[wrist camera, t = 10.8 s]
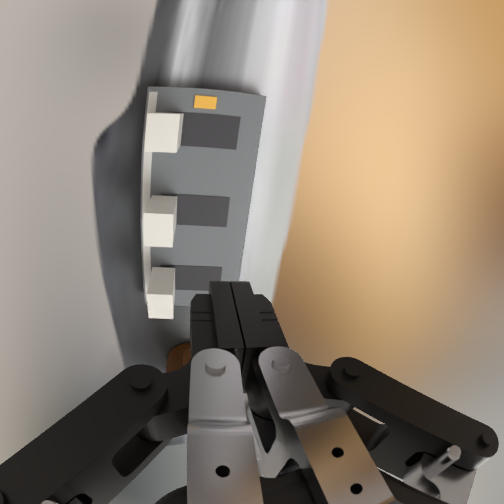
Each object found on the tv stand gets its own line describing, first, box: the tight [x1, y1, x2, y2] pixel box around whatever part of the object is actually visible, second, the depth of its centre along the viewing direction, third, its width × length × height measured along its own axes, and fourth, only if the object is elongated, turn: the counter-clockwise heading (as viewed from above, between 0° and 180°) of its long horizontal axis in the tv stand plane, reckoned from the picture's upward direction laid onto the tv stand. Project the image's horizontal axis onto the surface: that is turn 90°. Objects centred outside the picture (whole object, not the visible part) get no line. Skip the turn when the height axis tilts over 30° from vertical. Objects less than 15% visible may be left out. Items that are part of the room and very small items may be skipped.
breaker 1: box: [144, 112, 184, 153], centre depth 21 cm, size 3×2×5 cm
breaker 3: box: [147, 267, 175, 319], centre depth 29 cm, size 3×2×5 cm
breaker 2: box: [144, 195, 178, 247], centre depth 25 cm, size 3×2×5 cm
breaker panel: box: [140, 87, 266, 306], centre depth 29 cm, size 24×11×2 cm, turn 172°
